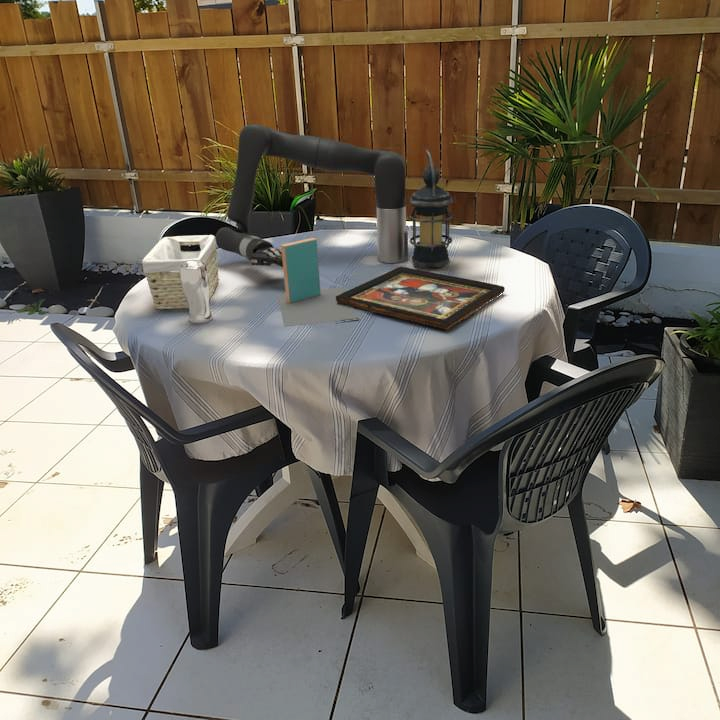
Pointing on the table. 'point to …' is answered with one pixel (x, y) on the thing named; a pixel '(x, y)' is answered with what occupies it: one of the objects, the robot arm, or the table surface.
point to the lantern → (430, 220)
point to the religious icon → (421, 296)
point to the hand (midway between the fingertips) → (285, 263)
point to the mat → (316, 309)
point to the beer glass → (196, 290)
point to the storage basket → (177, 268)
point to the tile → (301, 270)
